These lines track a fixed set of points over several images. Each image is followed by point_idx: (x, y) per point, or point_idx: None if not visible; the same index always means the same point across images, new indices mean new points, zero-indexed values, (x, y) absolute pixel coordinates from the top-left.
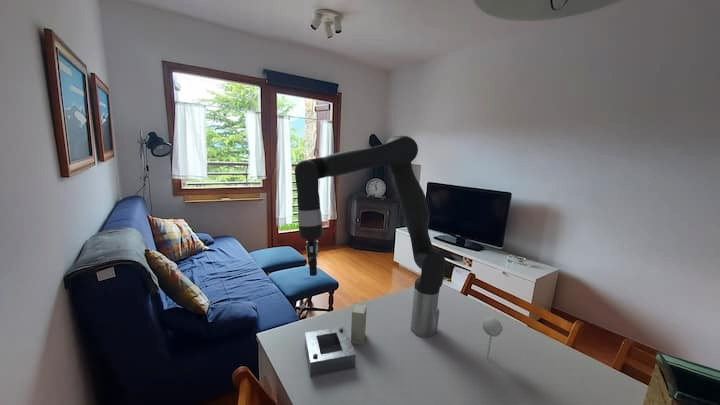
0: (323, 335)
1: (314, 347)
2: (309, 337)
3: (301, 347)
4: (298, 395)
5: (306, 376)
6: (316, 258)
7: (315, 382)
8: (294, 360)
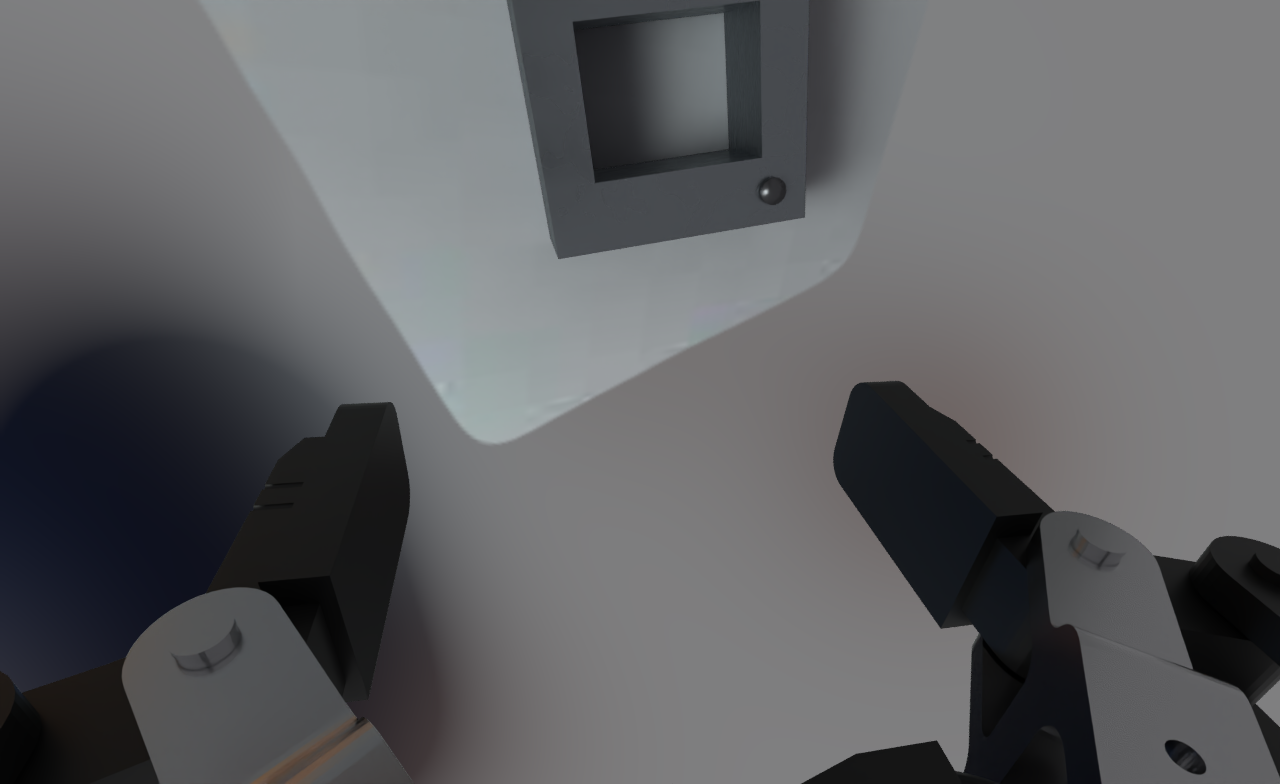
0: (585, 130)
1: (700, 195)
2: (608, 228)
3: None
4: (843, 249)
5: None
6: (359, 501)
7: None
8: (655, 284)
